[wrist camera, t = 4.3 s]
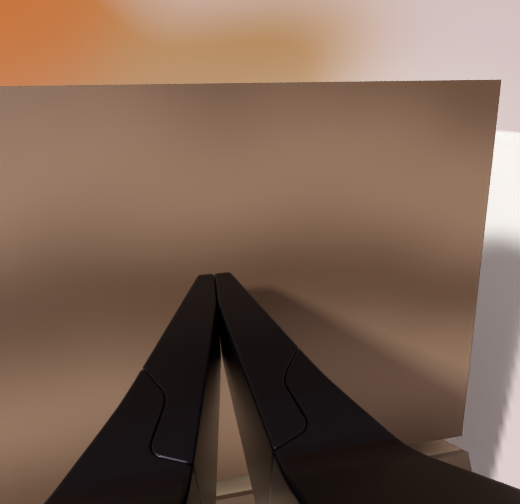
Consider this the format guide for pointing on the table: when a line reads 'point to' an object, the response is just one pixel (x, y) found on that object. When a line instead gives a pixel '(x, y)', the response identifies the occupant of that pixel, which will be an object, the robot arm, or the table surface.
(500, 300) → the table surface
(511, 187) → the table surface
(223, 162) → the walnut plank
